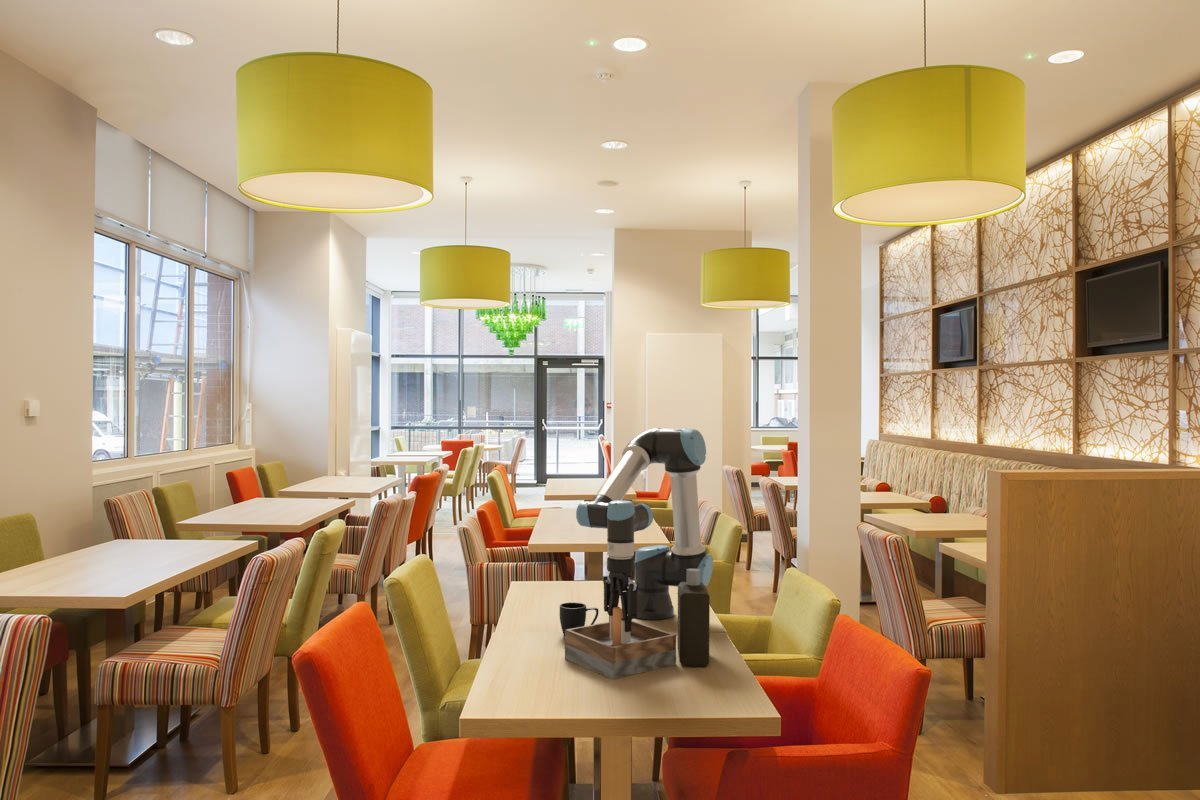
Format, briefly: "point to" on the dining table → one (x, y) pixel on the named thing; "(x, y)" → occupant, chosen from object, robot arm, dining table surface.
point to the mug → (574, 615)
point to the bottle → (693, 621)
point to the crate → (620, 649)
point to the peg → (617, 626)
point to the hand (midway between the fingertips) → (619, 640)
